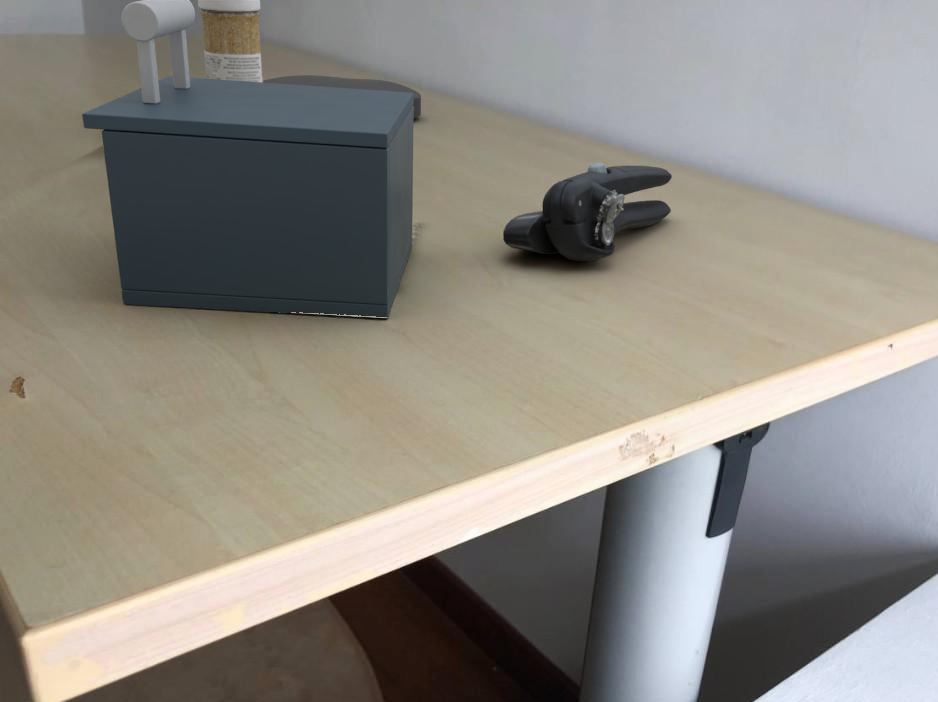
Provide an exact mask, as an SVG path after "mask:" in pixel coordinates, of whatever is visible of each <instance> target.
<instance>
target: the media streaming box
mask: <svg viewBox="0 0 938 702" xmlns="http://www.w3.org/2000/svg"><path fill="white" fill-rule="evenodd" d="M263 83H277V84H292V85H307V86H321V87H336V88H351V89H366V90H380V91H395V92H410V93H414V104H413V107H414V119H415V118H418V117H421V115H422V95H421V94H420V92H418V91H416V90H415V89H412V88H410V87H408V86H406V85H403V84H401V83H398V82H393V81H389V80H382V79H371V78H370V79H369V78H351V77H350V78H349V77H338V76H328V75H317V74H316V75H315V74H314V75H312V74H305V75H304V74H303V75H302V74H301V75H286V76H279V77H274V78H273V77H272V78H269V79H263Z"/></svg>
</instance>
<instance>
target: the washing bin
mask: <svg viewBox="0 0 938 702" xmlns="http://www.w3.org/2000/svg"><path fill="white" fill-rule="evenodd" d="M414 119H415V118H414V107H413V106H412V108H411V109H410V111H409V113H408V114H407V116H406V118H405V119H404V121H403V123H402V124H401V126H400V127H399V129H398V131H397V132H396V134H395V136H394V137H393V139H392V141H391V142H390V144H389V146H388V147H387V148H379V147H364V146H348V145H333V144H318V143H302V142H287V141H272V140H257V139H241V138H226V137H211V136H195V135H180V134H165V133H149V132H134V131H119V130H104V129H102V130H101V138H102V146H103V153H104V154H103V155H104V162H105V169H106V177H107V185H108V193H109V202H110V208H111V209H110V210H111V217H112V226H113V233H114V241H115V249H116V257H117V265H118V272H119V273H118V274H119V281H120V289H121V298H122V304H123V305H135V306H149V307H150V306H151V307H152V306H154V307H166V308H167V307H168V308H184V309H203V310H220V311H235V310H236V311H239V312H254V311H256V313H270V312H280V313H279V314H287V313H291V312H296V313H299V312H303V313H319V314H320V313H324V314H337V315H339V314H340V315H344V314H346V315H358V316H359V315H361V316H376V317H388V318H389V316H390V313H391V310H392V307H393V305H394V301H395V298H396V296H395V295H397V292H398V290H399V287H400V283H401V281H402V277H403V275H404V272H405V269H406V266H407V263H408V260H409V258H410V255H411V251H412V249H413V209H414V208H413V205H414V204H413V203H414V202H413V199H414V192H413V191H414ZM390 309H391V310H390ZM389 312H390V313H389ZM254 313H255V312H254ZM388 315H389V316H388Z"/></svg>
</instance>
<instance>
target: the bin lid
mask: <svg viewBox="0 0 938 702" xmlns="http://www.w3.org/2000/svg"><path fill="white" fill-rule="evenodd" d="M195 10H196V9H195V7H194V5H193V3H192V2H191V0H138V1H132V2H130V3H128V4H126V5H125V7H124V8H123V10H122V12H121V16H120V17H121V18H120V22H121V25H122V28H123V29H124V32H125V33H126V34H127V35H128V36H130V37H131V39H133V40H134V41H136V51H137V52H136V53H137V60H138V61H137V62H138V71H139V79H140V88H138V89H136V90H133V91H131V92H129V93H126V94H125V95H122V96H120V97H117V98H115V99H113V100H111V101H110V100H109V101H108V102H106V103H104V104H101V105H99V106H96V107H94V108H91V109H90V110H87V111H84V112H83V113H82V114H81V116H82V124H83V128H84V129H89V130H90V129H91V130H119V131H134V132H149V133H165V134H180V135H195V136H211V137H226V138H241V139H257V140H272V141H287V142H302V143H318V144H333V145H348V146H364V147H379V148H387V147H388V146H389V144H390V142H391V141H392V139H393V137H394V136H395V134H396V132H397V131H398V129H399V127H400V126H401V124H402V123H403V121H404V119H405V118H406V116H407V114H408V113H409V111H410V109H411V108H412V106H413V104H414V93H410V92H395V91H380V90H366V89H351V88H336V87H321V86H307V85H292V84H277V83H263V82H248V81H233V80H218V79H206V78H201V77H190V67H189V56H188V55H189V54H188V44H187V43H188V42H187V31H186V30H187V29H188V28H191V27H192V25H193V24H194V22H195V19H196V11H195ZM168 35H169V46H170V56H171V69H172V75H168V76H166V77H163V78H162V79H159V74H158V64H157V55H156V44H155V39H157V38H162V37H165V36H168Z"/></svg>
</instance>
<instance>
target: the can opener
mask: <svg viewBox="0 0 938 702" xmlns="http://www.w3.org/2000/svg"><path fill="white" fill-rule="evenodd" d="M672 177H673V176H672V174H671V173H670V171H668V170H667V169H666V168H662V167H659V166H652V165H651V166H650V165H614V166H613V165H612V166H608V167H607V166H606V164H605V163H604V162H594V163H592V164H590V165H589V166H588V168H587V171H586V172H582V173H579V174H576V175H574V176H573V175H572V176H571V177H567V178H565V179H562V180H560V181H557V182H556V183H554V184H553V185H552V186H550V188H549V189H548V190H547V191H546V193H545V194H544V197H543V199H542V205H541V206H542V210H539V211H533V212H528V213H523V214H519V215H517V216H515V217H513V218H511V219H510V220H509V221H508V222H507V223H506V225H505V227H504V229H503V233H502V236H503V237H502V238H503V241H504V244H505V245H507V246H508V247H510V248H512V249H514V250H521V251H526V252H532V253H538V254H543V255H554V254H560V255H561V256H563V257H565V258H566V259H568V260H571V261H575V262H589V261H596V260H600V259H603V258H606V257H610V256H611V255H613V253H614V252H615V249H616V248H615V247H616V246H615V244H614V237H615V236H616V234H617V233H618V232H620V231H621V230H623V229H639V228H640V229H641V228H644V227H649V226H651V225H654V224H656V223H658V222H660V221H662V220H663V219H665V218H666V217H667V216H668V215H669V214H670V213H671V212H672V208H671V207H670V206H669V205H668V203H666V202H665V201H663V200H657V199H651V200H650V199H649V200H637V201H629V202H625V199H626V197H625V196H627V195H630V194H633V193H637V192H641V191H645V190H648V189H653V188H657V187H662V186H665V185H667V184H668V183H669V182H670V181H671V179H672Z"/></svg>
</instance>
